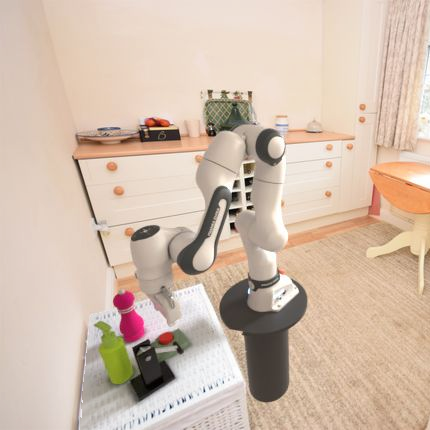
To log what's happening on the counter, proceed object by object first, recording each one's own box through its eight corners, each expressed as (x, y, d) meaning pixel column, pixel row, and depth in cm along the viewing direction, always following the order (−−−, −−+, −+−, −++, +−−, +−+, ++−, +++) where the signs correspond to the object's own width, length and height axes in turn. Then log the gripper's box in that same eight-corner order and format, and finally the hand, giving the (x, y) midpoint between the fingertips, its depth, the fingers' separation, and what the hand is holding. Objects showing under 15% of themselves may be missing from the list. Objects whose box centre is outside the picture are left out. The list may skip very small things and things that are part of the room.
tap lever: (175, 346, 93) (178, 339, 93) (182, 355, 90) (185, 348, 90) (134, 351, 84) (138, 344, 84) (141, 362, 81) (144, 354, 80)
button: (170, 333, 100) (169, 329, 99) (175, 340, 98) (174, 336, 97) (157, 340, 97) (156, 336, 97) (162, 347, 95) (161, 343, 94)
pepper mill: (151, 329, 106) (138, 284, 98) (136, 344, 100) (121, 298, 91) (133, 325, 107) (120, 281, 99) (117, 341, 101) (101, 295, 92)
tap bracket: (165, 362, 94) (156, 330, 88) (175, 378, 89) (167, 345, 83) (130, 383, 87) (118, 350, 81) (139, 401, 82) (127, 367, 77)
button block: (179, 332, 105) (177, 324, 103) (189, 345, 100) (187, 336, 99) (146, 350, 98) (144, 342, 96) (155, 365, 93) (153, 356, 91)
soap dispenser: (123, 362, 93) (107, 314, 85) (137, 371, 91) (121, 323, 82) (104, 377, 88) (84, 328, 80) (118, 387, 86) (99, 337, 77)
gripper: (183, 291, 80) (190, 329, 85) (154, 261, 92) (162, 296, 98) (159, 302, 75) (168, 341, 81) (132, 269, 88) (141, 305, 93)
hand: (164, 316), depth 89 cm, fingers open, 8 cm apart
